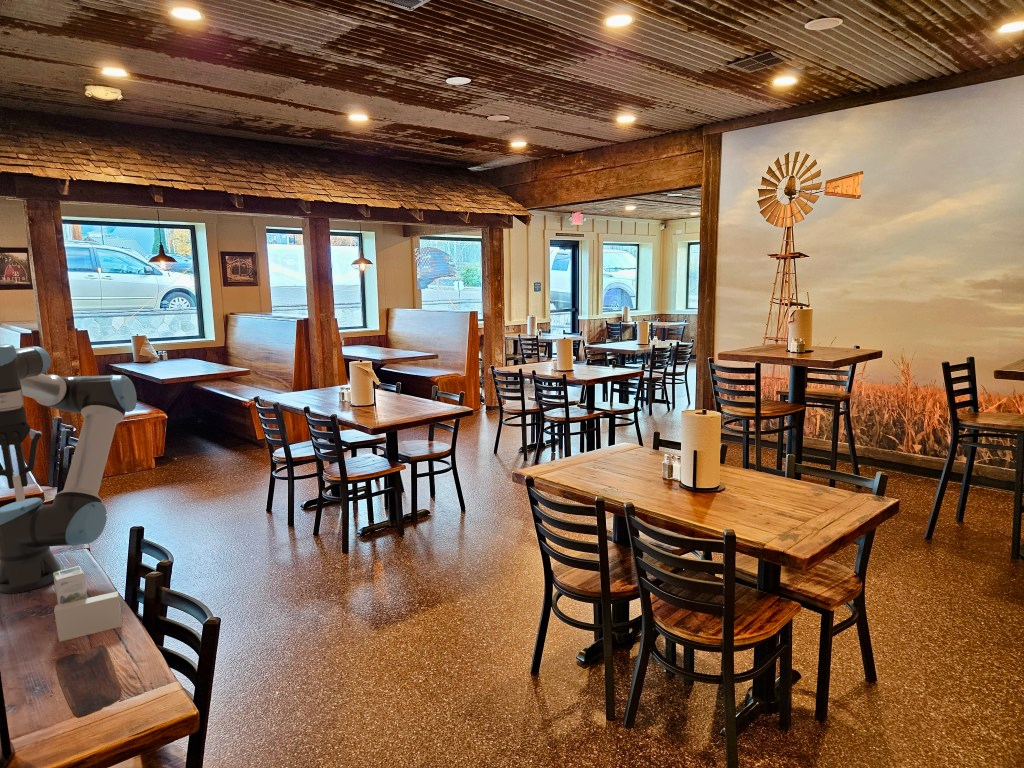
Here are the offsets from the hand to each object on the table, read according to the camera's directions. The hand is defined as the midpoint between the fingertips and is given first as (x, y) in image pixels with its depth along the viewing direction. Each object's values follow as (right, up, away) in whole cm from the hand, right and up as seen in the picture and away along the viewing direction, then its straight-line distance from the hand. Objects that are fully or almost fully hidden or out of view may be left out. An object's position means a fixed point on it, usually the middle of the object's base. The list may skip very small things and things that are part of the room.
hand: (20, 499), depth 168 cm
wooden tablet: (+32, -35, -24) cm, 54 cm away
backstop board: (+21, -31, -5) cm, 38 cm away
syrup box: (+16, -31, -2) cm, 35 cm away
